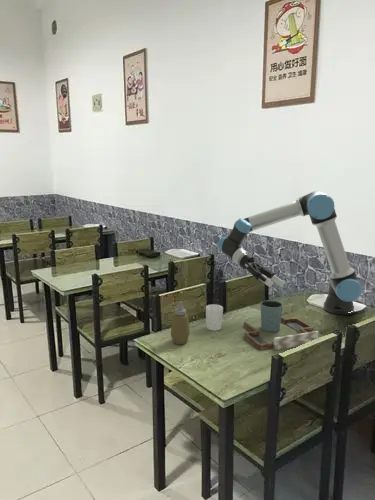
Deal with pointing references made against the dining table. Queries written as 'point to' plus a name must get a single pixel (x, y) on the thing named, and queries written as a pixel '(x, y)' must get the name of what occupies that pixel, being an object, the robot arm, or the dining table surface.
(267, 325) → the blue-grey cup
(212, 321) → the white cup
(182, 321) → the squeeze bottle
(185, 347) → the dining table surface
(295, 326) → the brown walled tray frame
